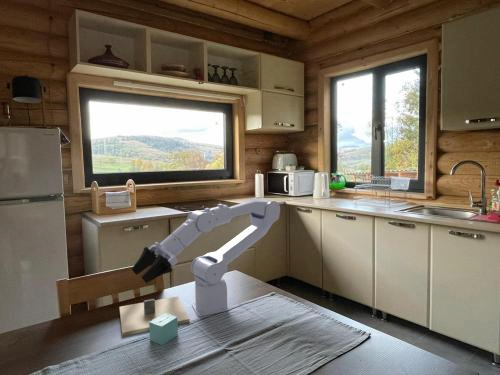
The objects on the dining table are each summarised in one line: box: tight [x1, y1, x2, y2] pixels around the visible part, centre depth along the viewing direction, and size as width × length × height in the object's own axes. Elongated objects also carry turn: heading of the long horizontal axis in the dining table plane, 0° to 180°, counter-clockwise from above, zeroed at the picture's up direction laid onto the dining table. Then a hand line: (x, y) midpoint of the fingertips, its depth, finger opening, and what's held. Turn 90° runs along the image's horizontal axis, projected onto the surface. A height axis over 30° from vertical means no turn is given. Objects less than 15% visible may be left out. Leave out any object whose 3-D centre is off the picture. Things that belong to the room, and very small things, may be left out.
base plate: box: [119, 296, 191, 337], centre depth 98 cm, size 18×16×5 cm
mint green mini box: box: [149, 313, 179, 346], centre depth 87 cm, size 6×4×5 cm
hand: (138, 276), depth 89 cm, fingers open, 7 cm apart
